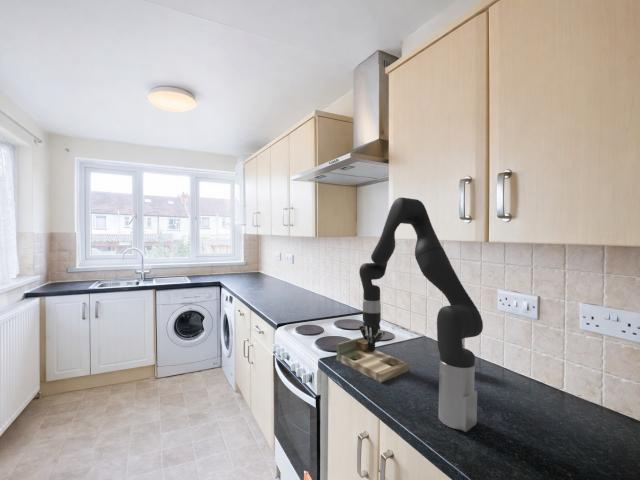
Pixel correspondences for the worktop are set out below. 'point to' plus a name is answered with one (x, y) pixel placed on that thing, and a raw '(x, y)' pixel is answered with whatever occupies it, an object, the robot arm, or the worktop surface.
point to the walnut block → (362, 345)
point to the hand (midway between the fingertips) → (371, 351)
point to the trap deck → (370, 361)
